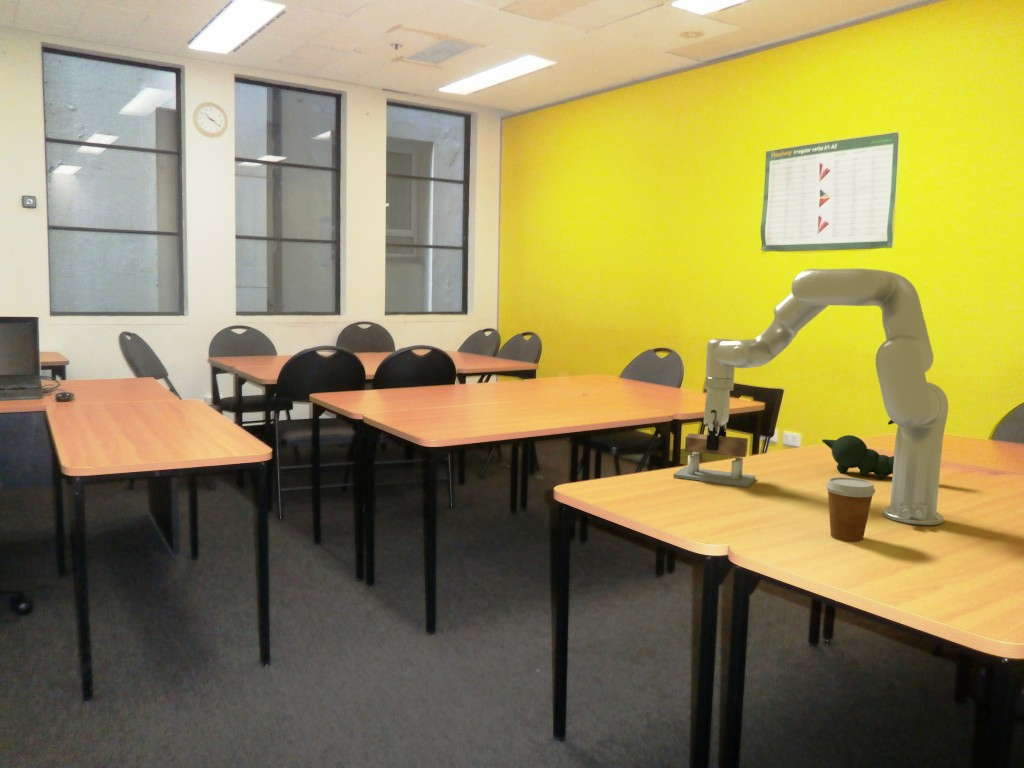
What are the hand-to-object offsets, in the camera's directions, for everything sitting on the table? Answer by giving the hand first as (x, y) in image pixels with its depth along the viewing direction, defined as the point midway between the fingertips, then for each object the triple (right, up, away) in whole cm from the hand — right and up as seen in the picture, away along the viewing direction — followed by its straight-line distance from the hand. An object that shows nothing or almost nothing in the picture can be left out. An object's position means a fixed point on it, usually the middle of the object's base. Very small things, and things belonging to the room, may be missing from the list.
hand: (716, 447), depth 211 cm
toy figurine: (+46, -9, +8) cm, 47 cm away
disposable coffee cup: (+14, -15, -50) cm, 54 cm away
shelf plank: (0, -1, 0) cm, 1 cm away
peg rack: (0, -9, +1) cm, 9 cm away
